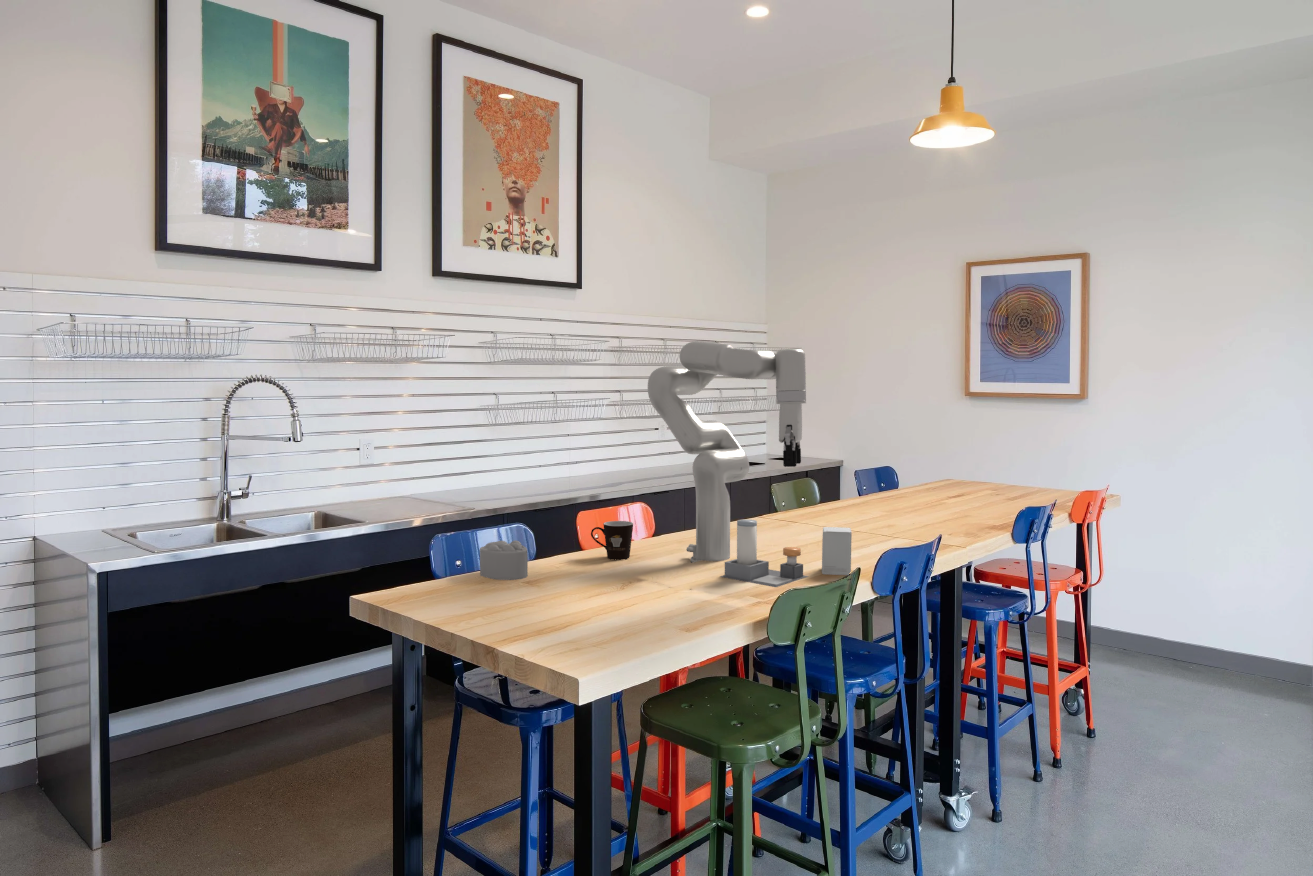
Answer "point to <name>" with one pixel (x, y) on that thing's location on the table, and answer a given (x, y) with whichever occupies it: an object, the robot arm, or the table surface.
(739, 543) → the cylinder
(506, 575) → the lumpy-topped squat cylinder
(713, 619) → the table surface
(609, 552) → the coffee mug
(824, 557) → the supplement box
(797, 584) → the table surface
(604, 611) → the table surface
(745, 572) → the grey compartment tray
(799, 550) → the glossy orange sphere
